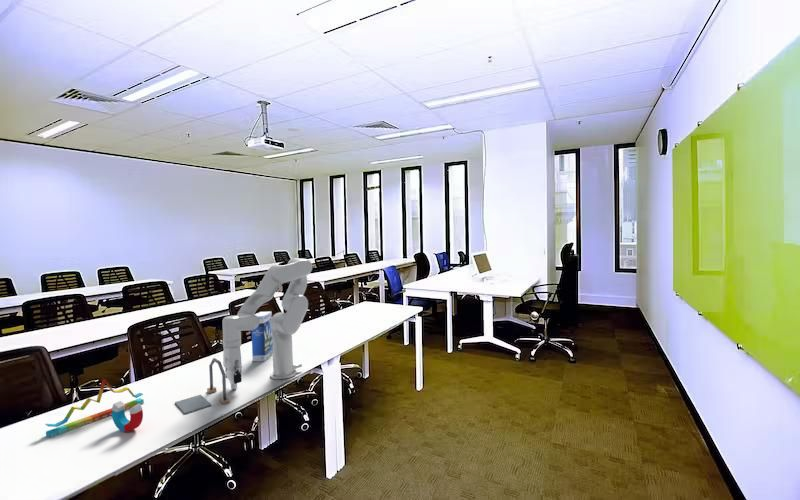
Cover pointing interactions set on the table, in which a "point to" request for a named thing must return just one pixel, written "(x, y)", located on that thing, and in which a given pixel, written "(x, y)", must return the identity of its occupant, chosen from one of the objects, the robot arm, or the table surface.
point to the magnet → (121, 419)
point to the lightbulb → (231, 378)
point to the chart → (93, 417)
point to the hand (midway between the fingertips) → (233, 379)
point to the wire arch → (213, 389)
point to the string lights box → (262, 338)
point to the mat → (192, 404)
